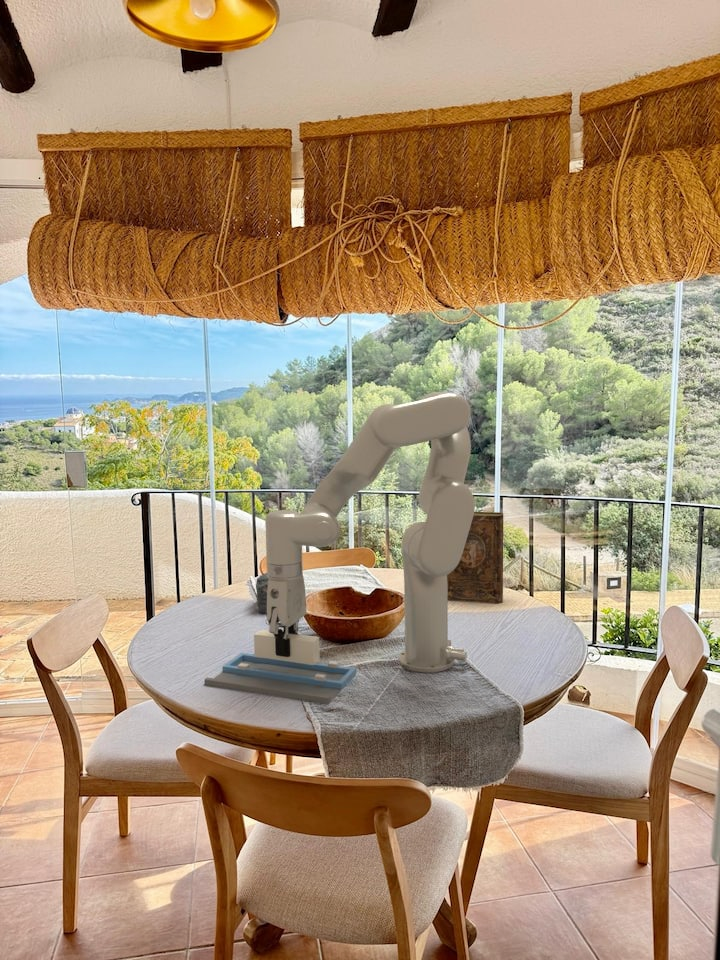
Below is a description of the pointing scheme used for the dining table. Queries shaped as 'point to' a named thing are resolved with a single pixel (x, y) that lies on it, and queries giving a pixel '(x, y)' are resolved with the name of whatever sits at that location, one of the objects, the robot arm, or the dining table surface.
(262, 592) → the stone
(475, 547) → the book
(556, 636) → the dining table surface
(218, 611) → the dining table surface
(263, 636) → the bar
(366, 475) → the robot arm
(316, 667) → the board
